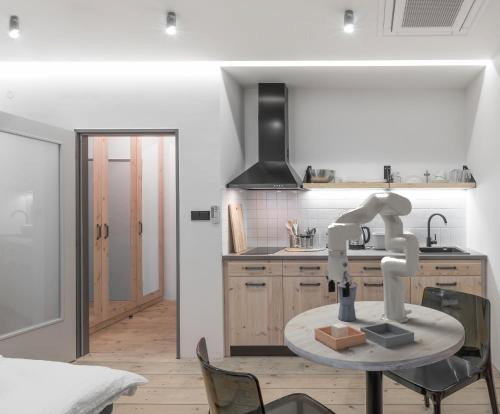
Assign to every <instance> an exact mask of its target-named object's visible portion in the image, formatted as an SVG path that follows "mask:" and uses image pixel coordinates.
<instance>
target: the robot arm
mask: <svg viewBox="0 0 500 414" xmlns="http://www.w3.org/2000/svg"><path fill="white" fill-rule="evenodd" d="M412 209H413V205H412V202H411V201H410V199H409V198H407V197H406V196H403V195H400V194H398V193H395V192H390V191H388V192H387V191H386V192H385V191H384V192H374V193H371V194H370V195H368V197H367V198H365V199H364V201H363V202H362V203H360V204H359V206H358V207H356V208H354V209H352V210H350V211H347V212H345V213H343V214H342V215H341V214H340V216H338V217H337V218H336V219H335V220H334V221H333V222H332V223H331V224H330V225H328V226H327V248H328V250H327V251H328V252H327V253H328V257H327V269H326V270H325V271H324V273H325V278H326V282H327V289H328V292H327V293H335V292H336V283H335V282H337V283H338V282H341V283H342V285H343V288H342V296H343V297H349V296H350V290H349V287H350V285H351V284H353V283H352V282H353V279H354V278H353V277H352V276H351V268H350V263H349V258H348V256H347V255H348V254H347V241H349V242H350V241H353V242H354V241H357V240H359V239H361V237H362V235H363V228H362V226H360V225H365V224H369V223H371V222H372V221H373V220H374V219H375V218H376V217H377V215H380V217H381V219H382V220H383V223H384V248H385V250H386V251H387V252H388V253H395V254H403V255H405V256H401V255H391V254H390V255H385V256H384V257H382V258H381V260H380V269H381V273H382V283H383V314H381V315H380V319H381V320H382V321H386V322H387V321H388V322H394V323H399V324H404V323H407V322H409V317H408V316H407V315H411V314H412V313H413V312H412V310H411V309H407V310H406V309H405V308H406V307H405V283H404V281H403V279H402V277H405V278H414V277H416V276H417V275H418V272H419V266H420V265H419V263H420V259H419V258H420V243H419V239H418V237H417V236H415V235H414V234H410V233H406V234H405V233H404V222H403V220H402V219H401V217H405V216H408V215H410V214H411V212H412ZM345 283H346V284H345Z"/></svg>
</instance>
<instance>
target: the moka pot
mask: <svg viewBox="0 0 500 414" xmlns="http://www.w3.org/2000/svg"><path fill="white" fill-rule="evenodd" d="M344 283H345V284H346V282H344ZM342 288H343V285H342V283H341V282H337V284H336V289H337V293H338V299H339V308H338V316H337V319H338V320H340V321H343V322H350V323H351V322H355V321H356V320H357V317H356V316H357V315H356V308H355V302H356V296H357V288H358V286H357V284H356V283H352V284H351V285H350V287H349V290H350V296H349V297H343V296H342Z"/></svg>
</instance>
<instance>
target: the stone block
mask: <svg viewBox="0 0 500 414" xmlns="http://www.w3.org/2000/svg"><path fill="white" fill-rule="evenodd" d="M342 323H343V322H342ZM342 323H341V322H339V323H334V324H331V325H330V326H331V336H332V337H334V338H336V339H337V338H342V337H347V336H349V335H348V326H349V325H348V326H346V325H347V324H346V325H344V324H345V323H343V324H342Z"/></svg>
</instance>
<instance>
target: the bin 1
mask: <svg viewBox="0 0 500 414" xmlns="http://www.w3.org/2000/svg"><path fill="white" fill-rule="evenodd" d="M342 324H344V325H346V326H348V335H349V336H347V337H342V338H337V339H336V338H334V337H332V336H331V325H328V326H327V325H326V326H322V327H315V328H314V340H315V341H318V342H319V343H321V344H323V345H324V346H326V347H327V348H330V349H332V350H333V351H334V352H338V351H339V352H340V351H343V350H347V349H350V347H352V346H357V345H361V344H367V339H366V333H363V332H361V331H360V330H359V329H356V328H355V327H353V326H350V325H349V324H348V325H347V324H346V323H343V322H342Z"/></svg>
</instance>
